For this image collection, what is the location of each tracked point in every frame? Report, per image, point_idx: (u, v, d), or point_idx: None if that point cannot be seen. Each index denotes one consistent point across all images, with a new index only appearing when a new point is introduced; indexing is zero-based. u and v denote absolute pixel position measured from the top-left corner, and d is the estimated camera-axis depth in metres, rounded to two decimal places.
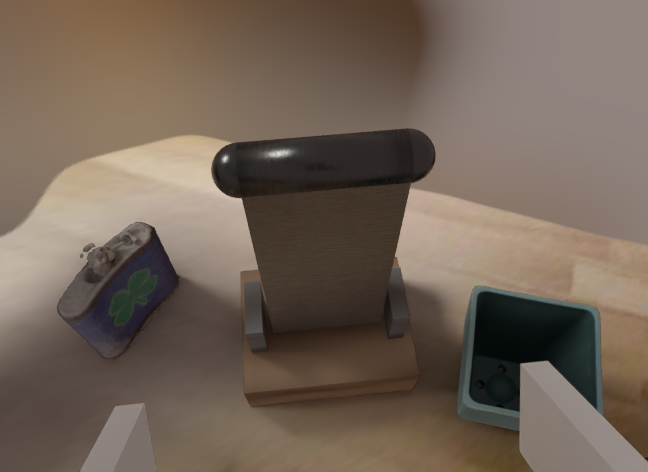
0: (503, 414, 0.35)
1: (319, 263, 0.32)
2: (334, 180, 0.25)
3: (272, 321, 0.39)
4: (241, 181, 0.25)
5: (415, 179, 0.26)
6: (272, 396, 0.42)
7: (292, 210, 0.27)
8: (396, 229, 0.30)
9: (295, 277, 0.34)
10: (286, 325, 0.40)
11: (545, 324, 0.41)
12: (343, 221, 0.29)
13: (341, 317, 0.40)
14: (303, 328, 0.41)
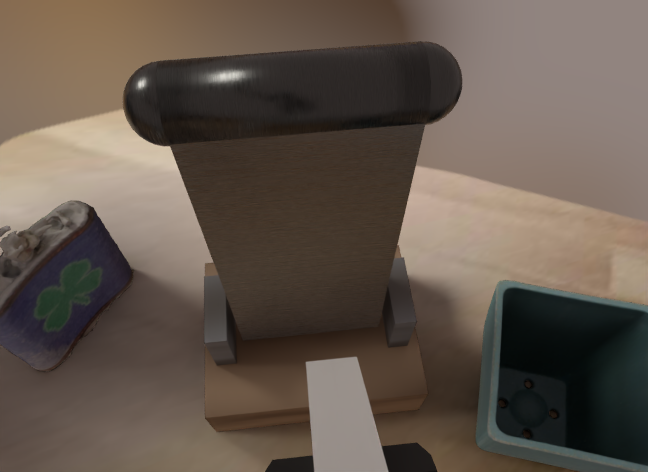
0: (542, 451, 0.26)
1: (295, 249, 0.24)
2: (308, 116, 0.17)
3: (239, 326, 0.30)
4: (165, 117, 0.16)
5: (432, 118, 0.17)
6: (242, 420, 0.33)
7: (250, 168, 0.18)
8: (402, 199, 0.21)
9: (263, 268, 0.25)
10: (258, 331, 0.31)
11: (587, 328, 0.32)
12: (326, 185, 0.20)
13: (328, 321, 0.31)
14: (280, 334, 0.32)
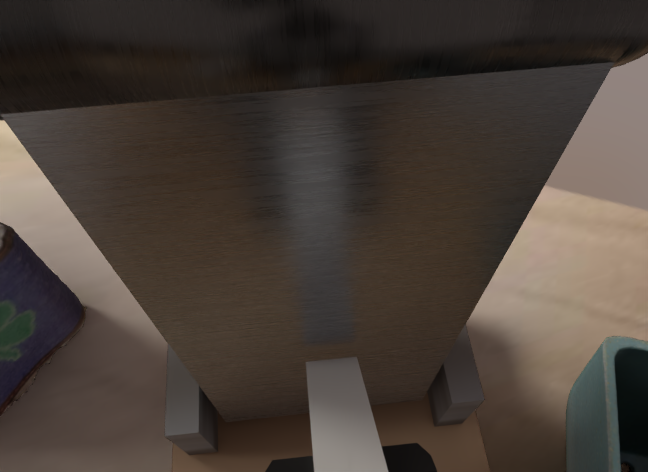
0: None
1: (303, 312, 0.13)
2: (341, 37, 0.06)
3: (219, 408, 0.20)
4: None
5: (639, 47, 0.07)
6: None
7: (207, 171, 0.08)
8: (509, 229, 0.11)
9: (250, 340, 0.15)
10: (247, 412, 0.21)
11: None
12: (367, 205, 0.10)
13: None
14: (281, 414, 0.22)
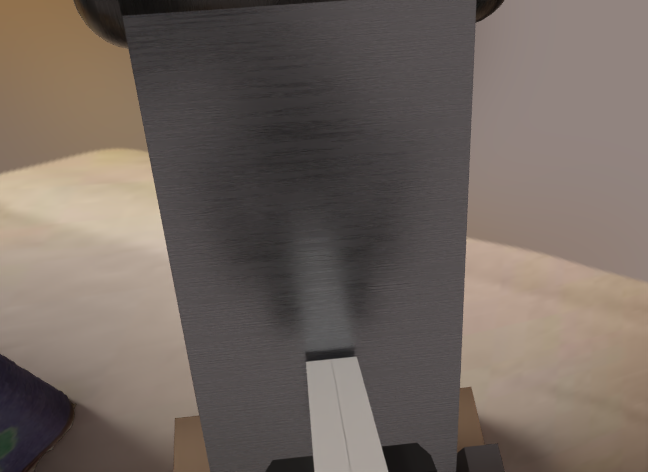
0: None
1: (307, 290, 0.15)
2: None
3: None
4: None
5: None
6: None
7: (236, 78, 0.13)
8: (461, 170, 0.14)
9: (259, 342, 0.16)
10: None
11: None
12: (346, 128, 0.14)
13: None
14: None
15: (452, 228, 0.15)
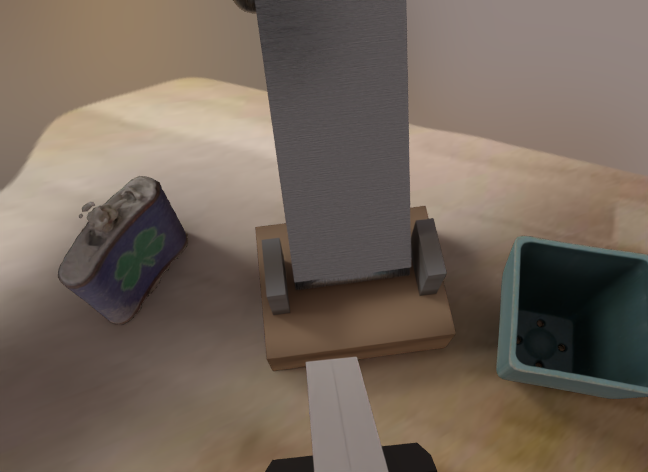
0: (554, 377, 0.32)
1: (333, 127, 0.33)
2: None
3: (292, 253, 0.36)
4: None
5: None
6: (296, 360, 0.39)
7: (302, 25, 0.30)
8: (403, 65, 0.31)
9: (311, 154, 0.33)
10: (307, 265, 0.37)
11: (593, 275, 0.38)
12: (350, 46, 0.30)
13: (366, 251, 0.37)
14: (327, 274, 0.37)
15: (401, 94, 0.32)
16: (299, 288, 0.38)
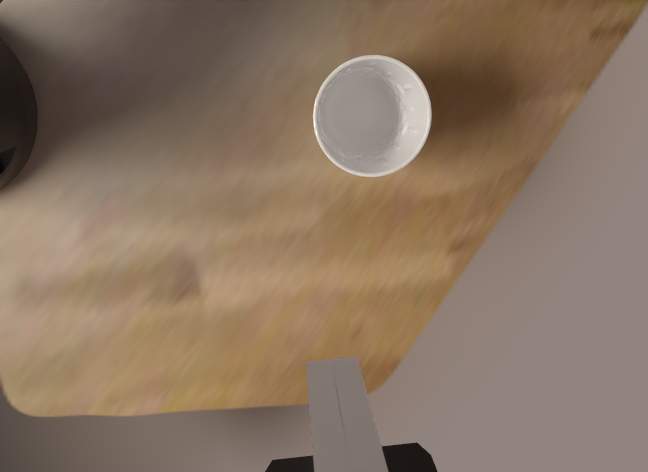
0: None
1: None
2: None
3: None
4: None
5: None
6: None
7: None
8: None
9: None
10: None
11: None
12: None
13: None
14: None
15: None
16: None
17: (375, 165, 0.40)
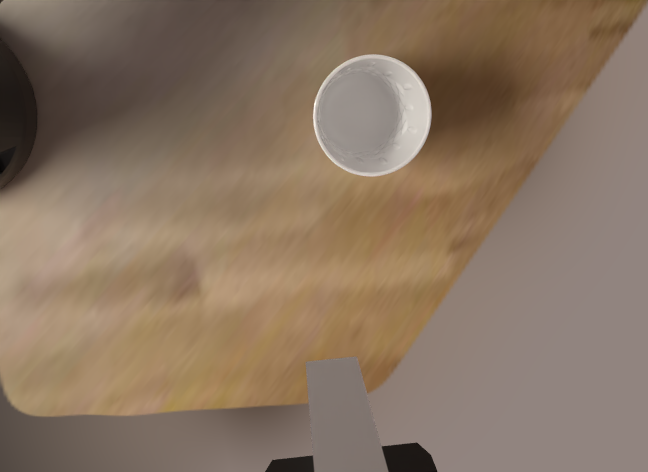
0: None
1: None
2: None
3: None
4: None
5: None
6: None
7: None
8: None
9: None
10: None
11: None
12: None
13: None
14: None
15: None
16: None
17: (375, 164, 0.40)
